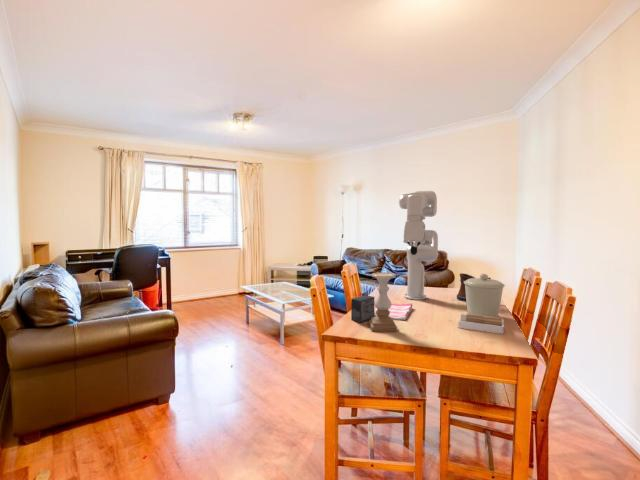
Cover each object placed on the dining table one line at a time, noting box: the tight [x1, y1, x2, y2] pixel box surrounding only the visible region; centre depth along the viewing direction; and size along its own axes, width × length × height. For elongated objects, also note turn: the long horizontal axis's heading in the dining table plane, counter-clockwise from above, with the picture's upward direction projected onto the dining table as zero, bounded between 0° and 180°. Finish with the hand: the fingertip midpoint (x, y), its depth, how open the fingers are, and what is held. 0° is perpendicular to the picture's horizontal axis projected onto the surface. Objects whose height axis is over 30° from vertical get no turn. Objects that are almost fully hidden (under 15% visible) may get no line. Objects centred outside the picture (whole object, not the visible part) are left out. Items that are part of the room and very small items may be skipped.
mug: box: [456, 272, 492, 302], centre depth 203 cm, size 18×12×15 cm, turn 56°
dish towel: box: [374, 302, 413, 321], centre depth 179 cm, size 17×23×4 cm
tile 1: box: [465, 313, 484, 324], centre depth 158 cm, size 7×7×4 cm
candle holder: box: [368, 271, 398, 333], centre depth 155 cm, size 11×11×24 cm
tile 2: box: [484, 316, 503, 326], centre depth 155 cm, size 7×7×4 cm
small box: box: [350, 294, 375, 324], centre depth 168 cm, size 11×6×10 cm, turn 134°
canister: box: [464, 273, 506, 317], centre depth 171 cm, size 18×18×21 cm
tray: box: [457, 313, 505, 335], centre depth 157 cm, size 13×18×3 cm
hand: (413, 254), depth 181 cm, fingers closed
